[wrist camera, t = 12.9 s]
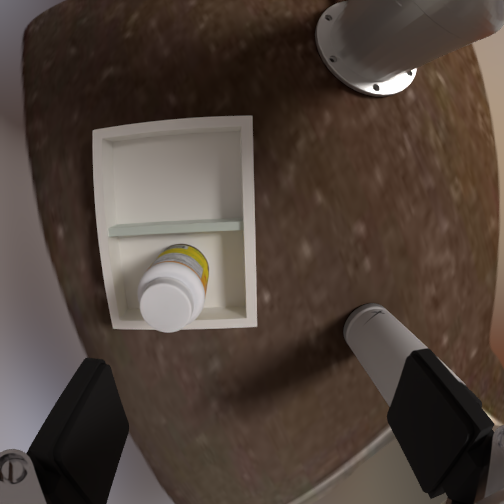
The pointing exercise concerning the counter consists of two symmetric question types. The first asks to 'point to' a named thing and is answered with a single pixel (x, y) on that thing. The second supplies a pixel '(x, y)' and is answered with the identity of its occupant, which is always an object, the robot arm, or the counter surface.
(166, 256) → the supplement bottle
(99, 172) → the bay tray
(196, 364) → the counter surface
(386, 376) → the travel mug
